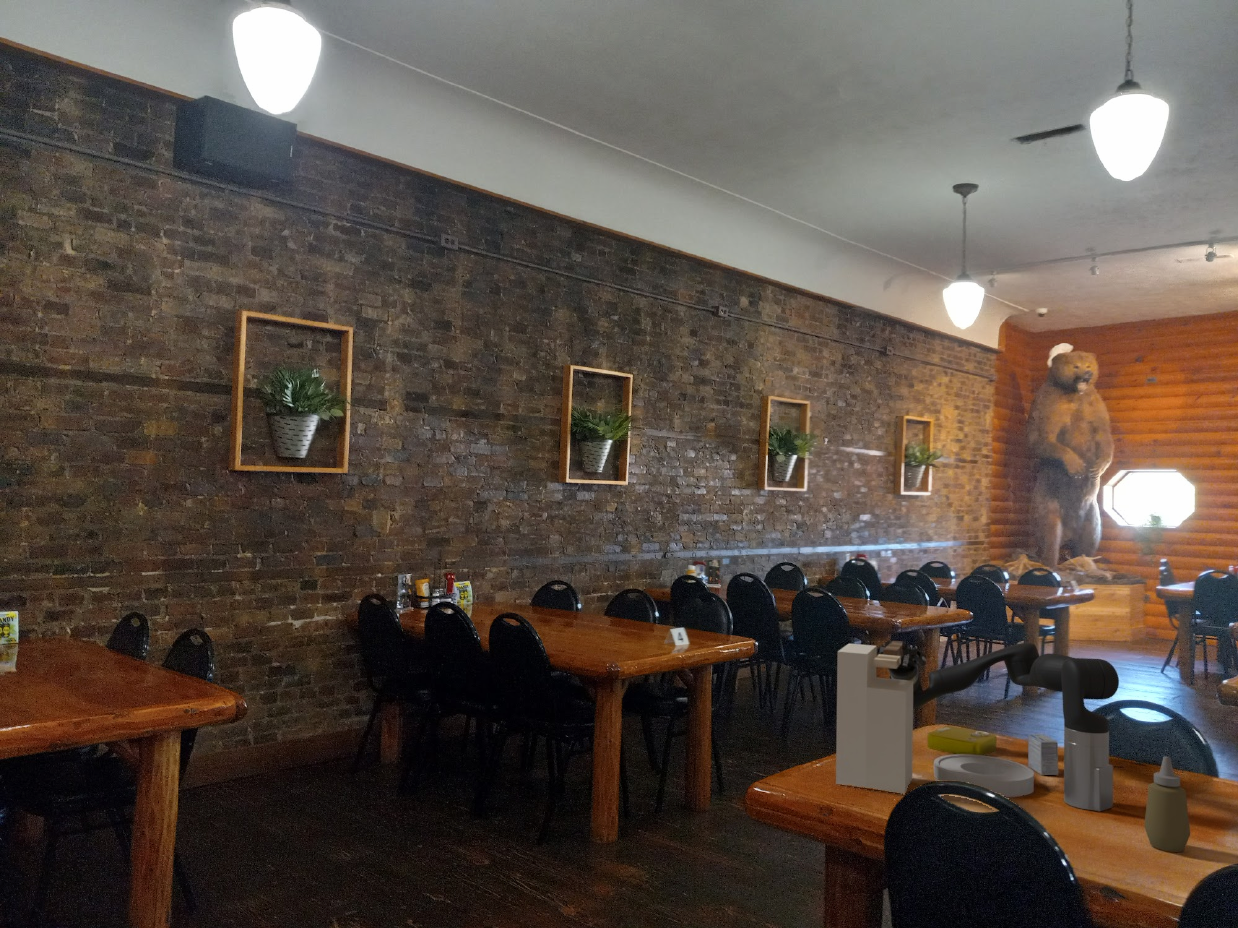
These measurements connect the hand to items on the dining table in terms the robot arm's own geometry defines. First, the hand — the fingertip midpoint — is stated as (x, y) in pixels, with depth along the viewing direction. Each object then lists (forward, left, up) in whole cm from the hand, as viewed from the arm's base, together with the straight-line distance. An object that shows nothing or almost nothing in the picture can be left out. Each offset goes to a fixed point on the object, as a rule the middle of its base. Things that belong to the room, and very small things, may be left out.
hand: (895, 644), depth 235 cm
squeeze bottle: (-63, -4, -33) cm, 71 cm away
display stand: (-2, +11, -32) cm, 34 cm away
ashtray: (-17, -12, -33) cm, 39 cm away
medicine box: (-20, -34, -33) cm, 51 cm away
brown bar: (-4, +6, -3) cm, 8 cm away
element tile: (+5, -36, -33) cm, 49 cm away
